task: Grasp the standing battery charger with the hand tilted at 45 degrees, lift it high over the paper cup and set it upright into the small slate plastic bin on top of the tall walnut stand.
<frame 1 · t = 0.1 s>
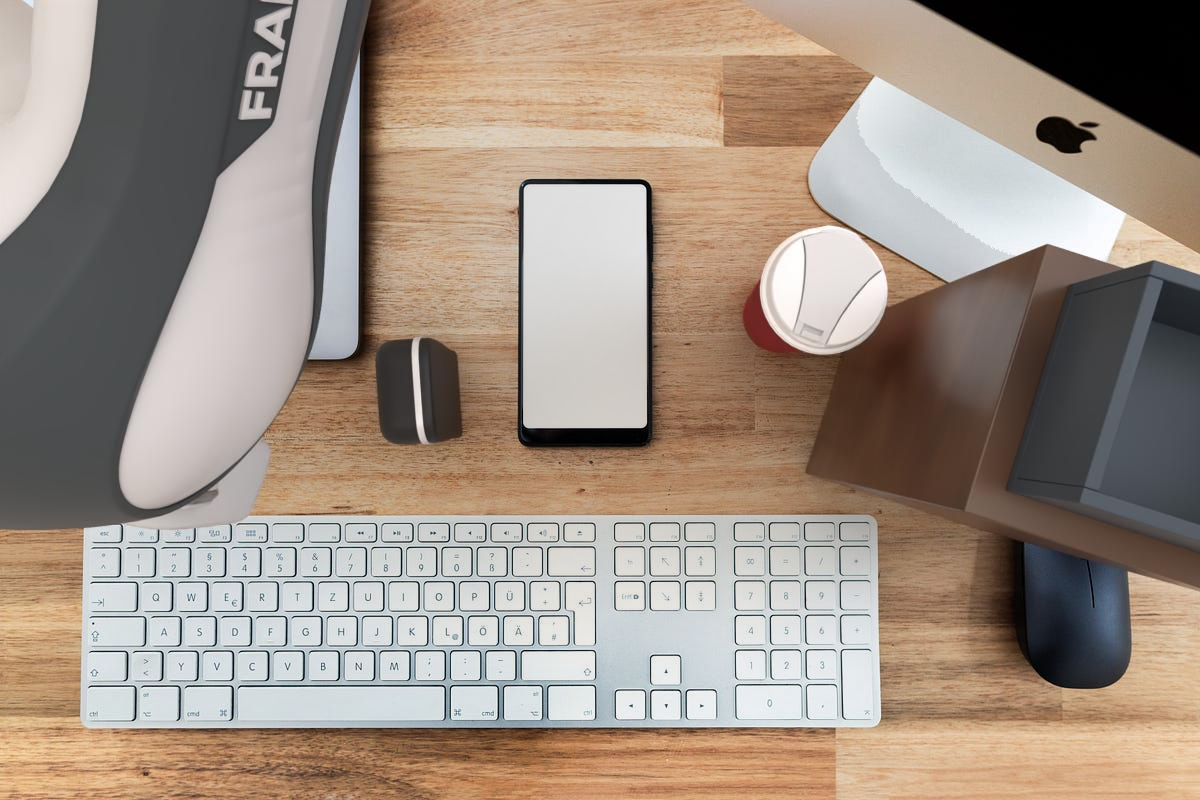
hand: (112, 408, 42), 23 cm above the table, tool pointing down, fingers open, 8 cm apart
stand: (918, 425, 64), on the table
bin: (1163, 427, 36), resting on stand
paper cup: (779, 316, 65), on the table
battery charger: (435, 396, 65), on the table
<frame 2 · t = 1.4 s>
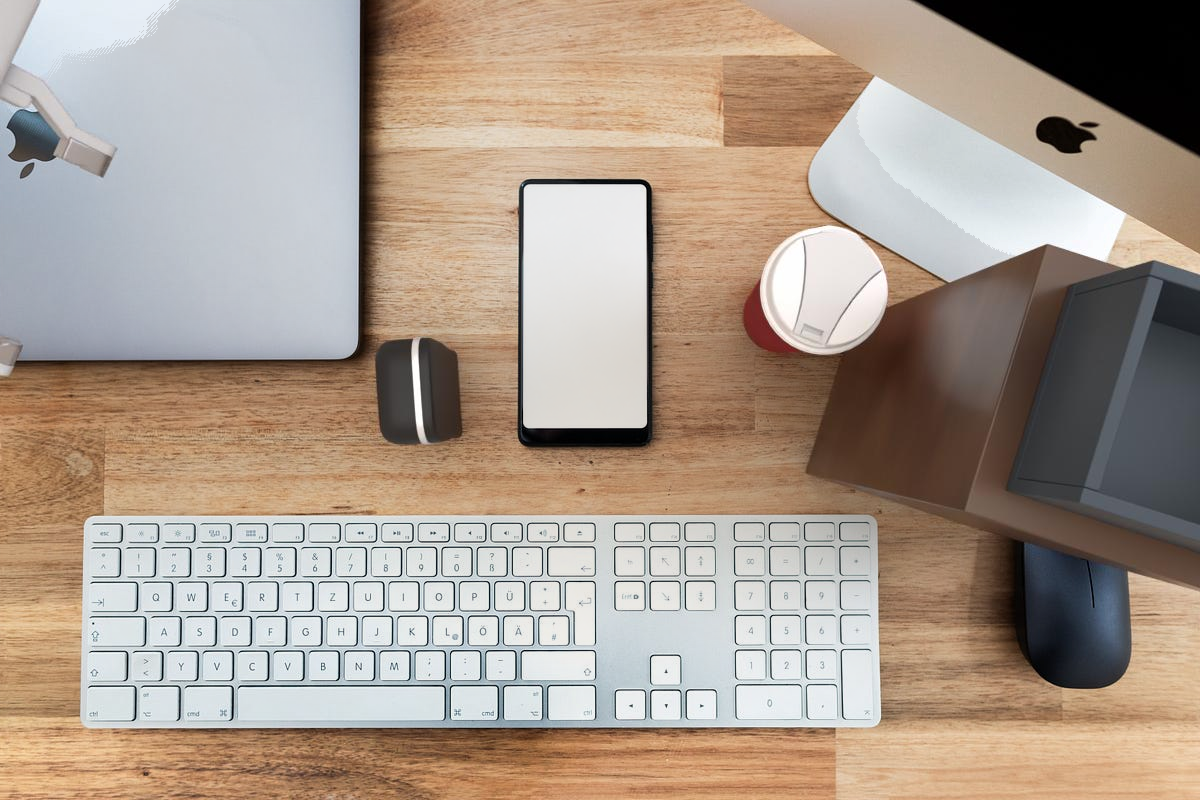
hand: (61, 259, 38), 27 cm above the table, tool tilted 45°, fingers open, 8 cm apart
nothing on the table moved.
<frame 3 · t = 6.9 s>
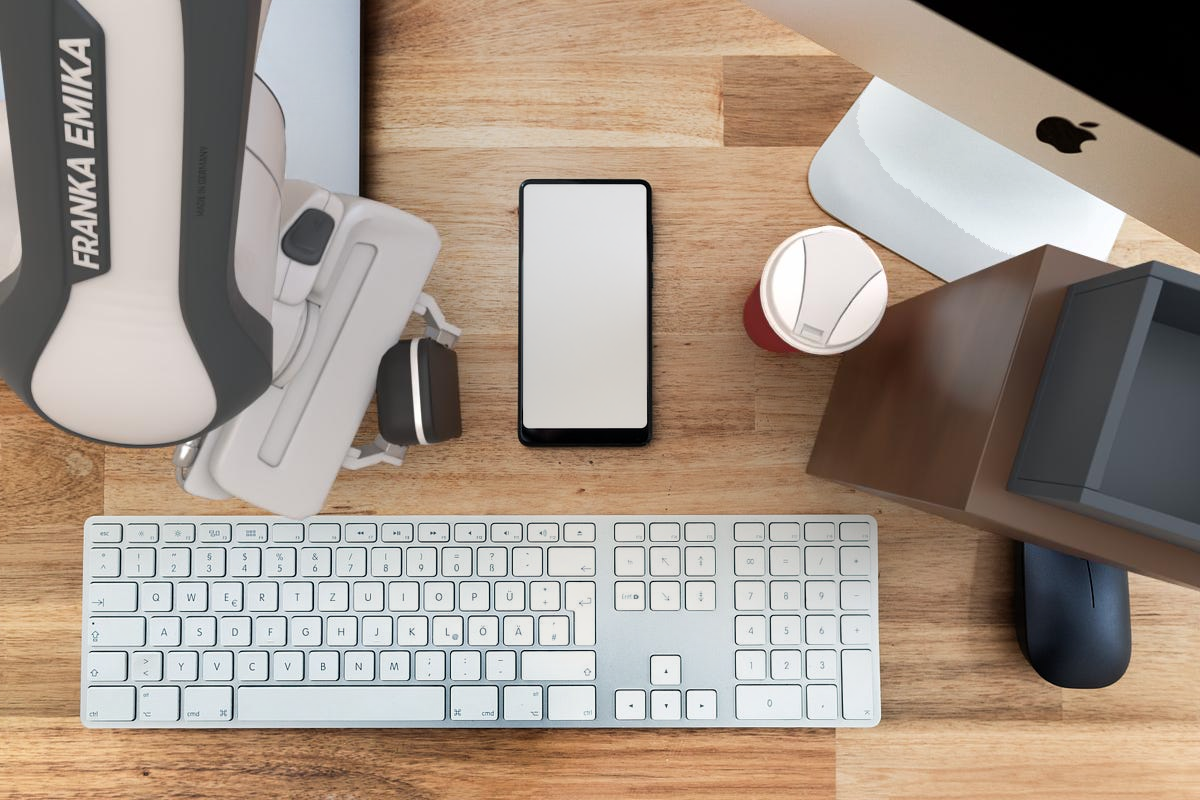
hand: (428, 395, 58), 6 cm above the table, tool tilted 45°, fingers closed on battery charger, 7 cm apart
battery charger: (435, 395, 65), on the table, touching gripper
everything else where it was.
when the fingers open (35 cm above the table, at t = 20.5 s): battery charger stays where it is, resting on bin.
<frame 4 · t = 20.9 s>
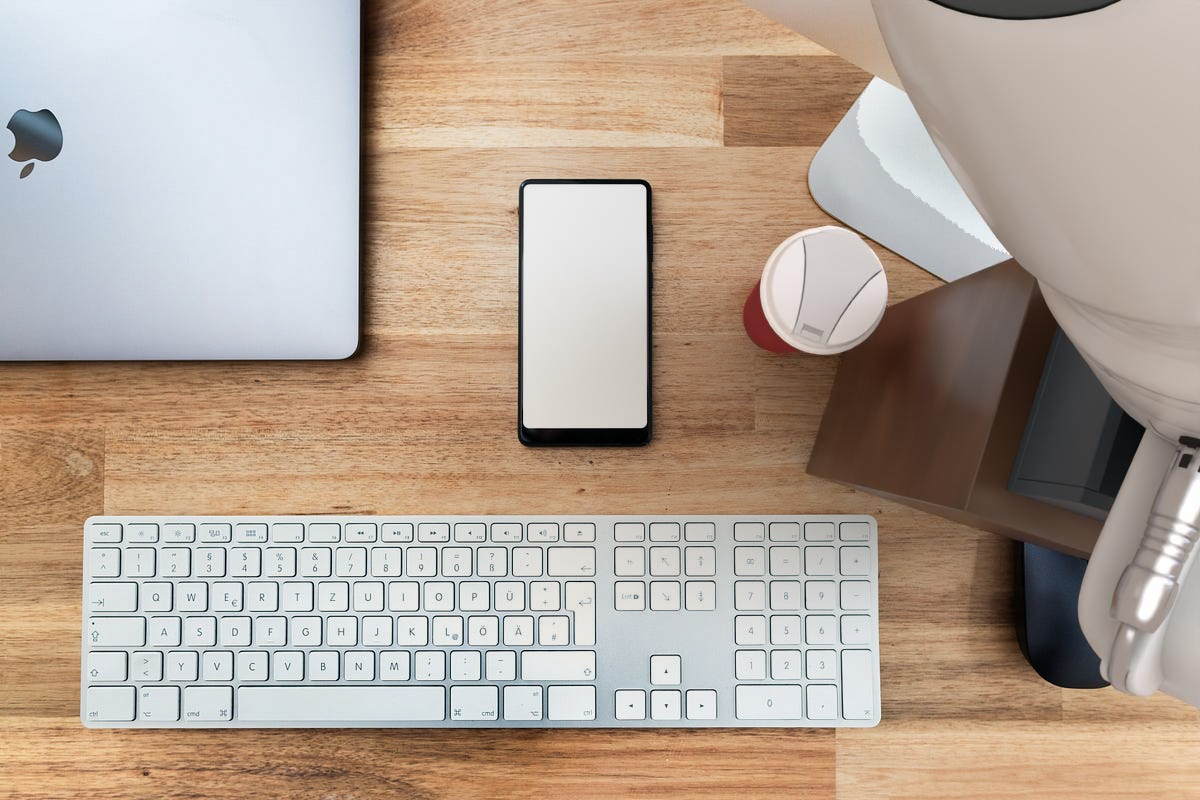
battery charger: (1166, 429, 36), point 28 cm above the table, touching bin
everything else where it was.
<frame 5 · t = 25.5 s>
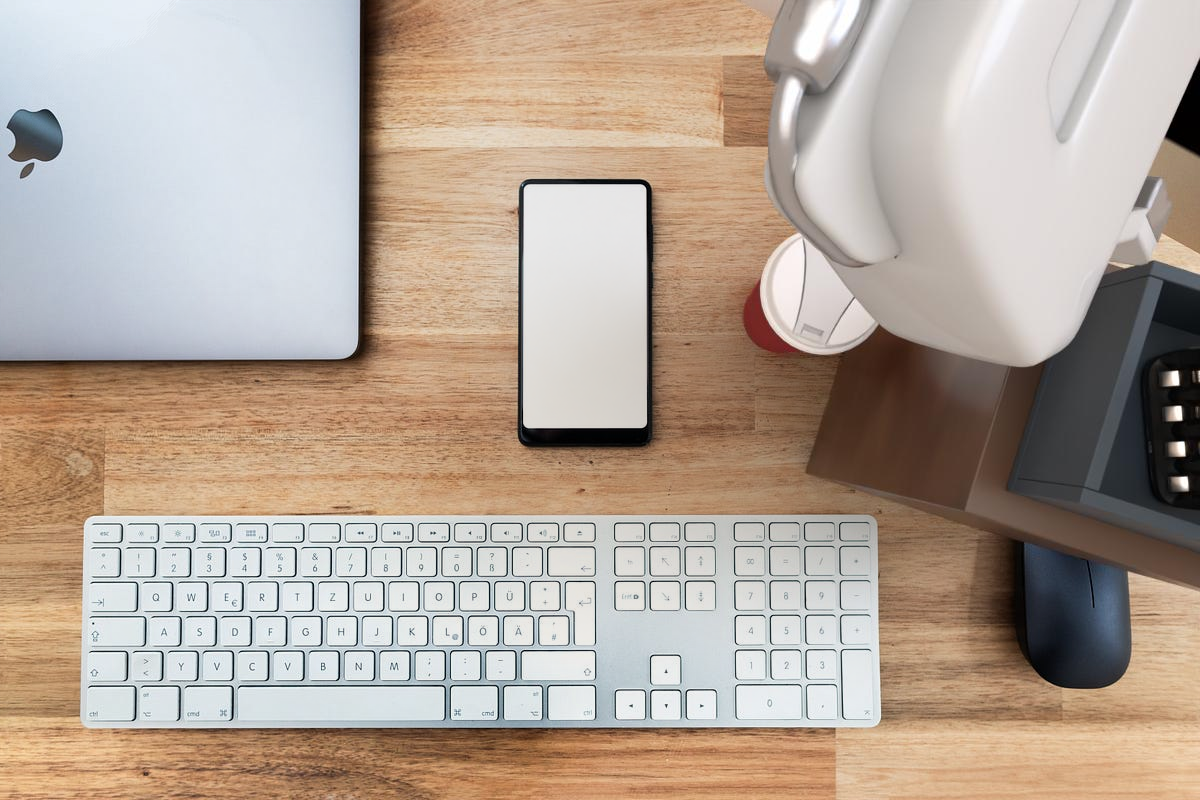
nothing on the table moved.
at the end: battery charger inside the target area on the bin (0.1 cm from its centre), point 0.4 cm above the bin's base; battery charger tilted 0°; the gripper is holding nothing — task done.
